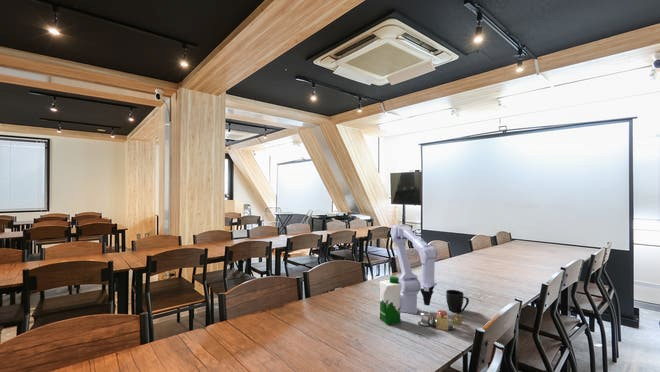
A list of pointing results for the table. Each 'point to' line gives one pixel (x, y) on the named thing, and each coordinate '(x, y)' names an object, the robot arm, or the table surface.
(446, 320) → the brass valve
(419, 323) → the pad
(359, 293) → the table surface
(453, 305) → the mug
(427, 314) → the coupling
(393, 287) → the milk carton
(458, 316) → the elbow
